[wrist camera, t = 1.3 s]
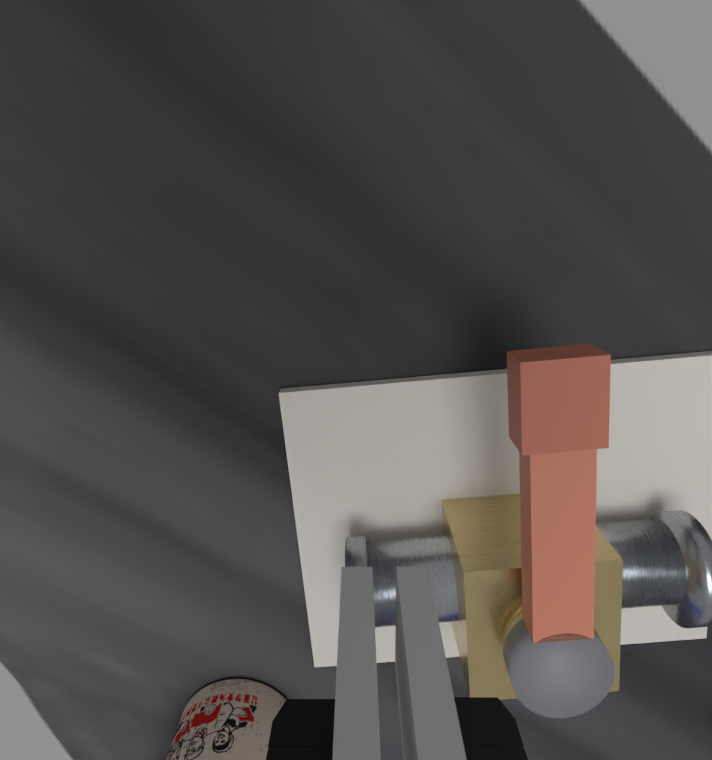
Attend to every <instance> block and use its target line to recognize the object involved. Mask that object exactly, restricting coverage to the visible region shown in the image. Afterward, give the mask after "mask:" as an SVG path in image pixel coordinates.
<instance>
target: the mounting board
mask: <svg viewBox="0 0 712 760" xmlns="http://www.w3.org/2000/svg"><path fill="white" fill-rule="evenodd" d="M279 400H280V408H281V415H282V423H283V431H284V438H285V446H286V453H287V461H288V469H289V476H290V484H291V492H292V499H293V507H294V514H295V522H296V530H297V537H298V545H299V552H300V560H301V568H302V575H303V583H304V591H305V598H306V606H307V613H308V621H309V629H310V636H311V644H312V651H313V659H314V667H326V666H337V652H338V631H339V610H340V589H341V568H342V567H345V540H346V537H352V536H364V535H366V539H367V542H372V541H385V540H397V539H410V538H422V537H435V536H444V532H443V515H442V500H446V499H458V498H470V497H483V496H495V495H507V494H519V493H520V472H519V450H518V449H517V448H516V446H515V445H514V443H513V442H512V441H511V439H510V438H509V425H508V385H507V369H499V370H488V371H477V372H465V373H454V374H442V375H431V376H419V377H408V378H397V379H385V380H374V381H362V382H351V383H339V384H328V385H317V386H305V387H294V388H282V389H280V391H279ZM675 510H683V511H686V512H688V513H690V514H691V515H693V516H694V517H695V518H696V519H697V520H698V521H699V522H700V523H701V524H702V526H703V527H704V528H705V530H706V531H707V533H708V535H709V536H710V538H711V540H712V351H705V352H694V353H682V354H671V355H659V356H648V357H637V358H625V359H614V360H611V368H610V412H609V448H604V449H597V483H596V524H597V523H609V522H622V521H634V520H647V519H650V517H651V516H652V515H653V514H654V513H656V512H663V511H675ZM439 626H440V631H441V636H442V641H443V646H444V651H445V656H446V658H447V657H459V652H458V648H457V644H456V640H455V635H454V631H453V627H452V623H451V622H442V623H439ZM395 631H396V626H389V627H376V628H375V640H376V663H380V662H394V661H395ZM706 637H707V627H699V628H683V627H680V626H679V625H677V624H676V623H675V622H674V621H672V620H671V618H670V617H669V616H668V615H667V613H666V612H665V611H664V609H663V607H662V606H652V607H639V608H625V609H621V641H620V645H622V644H635V643H649V642H662V641H675V640H689V639H702V638H706Z"/></svg>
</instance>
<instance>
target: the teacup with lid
mask: <svg viewBox="0 0 712 760" xmlns="http://www.w3.org/2000/svg"><path fill="white" fill-rule="evenodd" d="M285 701H286V699H285V698H284V697H283V696H282V695H281V694H279V693H278V692H277V691H275V690H274V689H272V688H271V687H269V686H267V685H265V684H262V683H259V682H256V681H252V680H247V679H228V680H222V681H218V682H215V683H213V684H210V685H208V686H206V687H204V688H203V689H201V690H200V691H199V692H197V693H196V694H195V695H194V696H193V697H192V698H191V699H190V701H189V702H188V703H187V705H186V707H185V709H184V711H183V714H182V716H181V719H180V722H179V725H178V727H177V730H176V733H175V736H174V739H173V741H172V744H171V747H170V750H169V753H168V755H167V758H166V760H266V756H267V752H268V744H269V738H270V733H271V727H272V721H273V720H274V718H275V717H276V715H277V713H278V712H279V710H280V709H281V707H282V706H283V704H284V703H285Z"/></svg>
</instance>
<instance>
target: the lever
mask: <svg viewBox="0 0 712 760" xmlns="http://www.w3.org/2000/svg"><path fill="white" fill-rule="evenodd" d="M610 368H611V355H610V354H608V353H606V352H605V351H603V350H601V349H599V348H597V347H595V346H593V345H591V344H582V345H570V346H559V347H548V348H536V349H525V350H514V351H507V385H508V425H509V438H510V439H511V441H512V442H513V443H514V445H515V446H516V448H517V449H518V450H519V472H520V522H521V572H522V618H523V619H521V620H520V621H519V622H518V623H516V625H515V626H514V627H513V628H512V629H511V630H510V632H509V634H508V635H507V637H506V640H505V643H504V648H503V656H504V661H505V665H506V668H507V671H508V674H509V677H510V680H511V682H512V685H513V688H514V691H515V694H516V696H517V697H518V699H519V700H520V702H521V703H522V704H523V705H524V706H525V707H526V708H528V709H529V710H531V711H532V712H534V713H536V714H539V715H542V716H545V717H550V718H567V717H573V716H577V715H580V714H583V713H585V712H587V711H589V710H591V709H592V708H594V707H595V706H596V705H598V704H599V703H600V702H601V701H602V700H603V699H604V698H605V697H606V695H607V694H608V692H609V691H610V689H611V686H612V684H613V680H614V674H615V671H614V664H613V660H612V658H611V656H610V654H609V652H608V651H607V649H606V647H605V646H604V644H603V642H602V640H601V639H600V637H599V635H598V634H597V632H596V630H595V629H594V601H595V542H596V483H597V449H604V448H609V412H610Z"/></svg>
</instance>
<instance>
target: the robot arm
mask: <svg viewBox="0 0 712 760" xmlns="http://www.w3.org/2000/svg"><path fill="white" fill-rule="evenodd" d="M395 666H396V677H397V689H398V701H399V713H400V724H401V736H402V748H403V759H404V760H528V758H527V755H526V752H525V750H524V748H523V743H522V739H521V736H520V733H519V730H518V727H517V724H516V721H515V718H514V717H513V716H512V715H511V714H510V712H509V711H508V710H507V709H506V707H505V706H504V705H503V704H502V702H501V701H500V700H499V699H498V697H454V695H453V690H452V685H451V681H450V676H449V671H448V666H447V661H446V656H445V651H444V646H443V641H442V636H441V631H440V626H439V621H438V617H437V612H436V607H435V602H434V597H433V592H432V587H431V582H430V577H429V572H428V567H397V568H396V631H395ZM266 760H381V758H380V734H379V711H378V687H377V663H376V640H375V616H374V593H373V569H372V567H342V568H341V589H340V610H339V631H338V652H337V673H336V694H335V699H287V700H286V701H285V703H284V704H283V706H282V707H281V709H280V710H279V712H278V713H277V715H276V717H275V718H274V720H273V721H272V727H271V733H270V738H269V744H268V752H267V756H266Z"/></svg>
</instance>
